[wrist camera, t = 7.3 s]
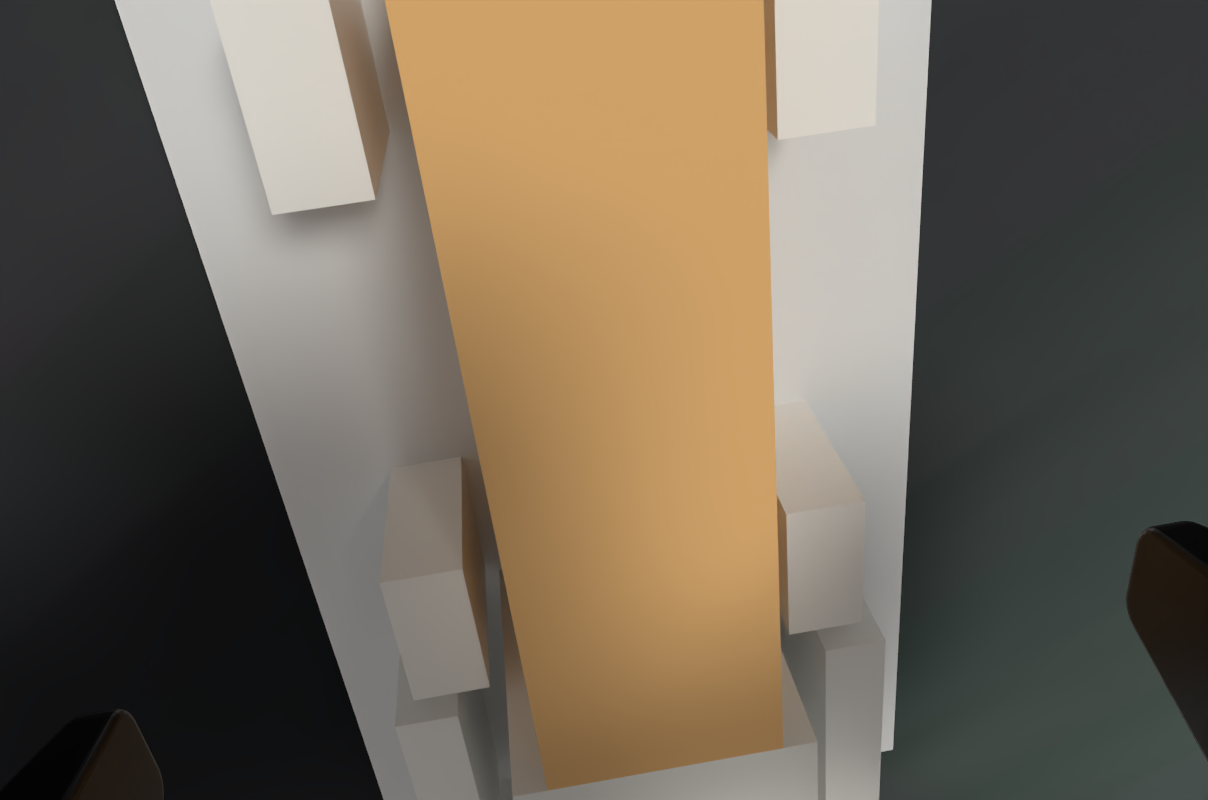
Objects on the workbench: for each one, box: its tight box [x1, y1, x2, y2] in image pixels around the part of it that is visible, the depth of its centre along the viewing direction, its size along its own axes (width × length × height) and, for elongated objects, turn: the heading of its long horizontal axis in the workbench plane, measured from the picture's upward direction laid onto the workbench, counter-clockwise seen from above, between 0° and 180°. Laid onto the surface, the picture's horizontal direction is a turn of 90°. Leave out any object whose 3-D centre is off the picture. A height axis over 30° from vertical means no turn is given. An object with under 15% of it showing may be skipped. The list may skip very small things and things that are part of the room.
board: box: [115, 0, 931, 800], centre depth 16 cm, size 11×20×4 cm, turn 6°
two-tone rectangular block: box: [385, 0, 818, 800], centre depth 15 cm, size 4×16×5 cm, turn 6°
